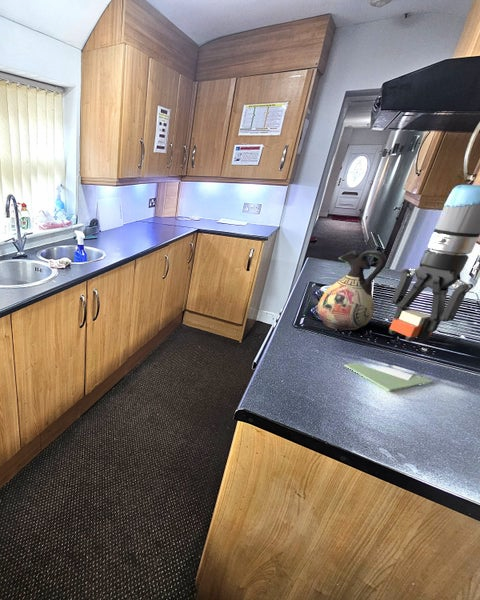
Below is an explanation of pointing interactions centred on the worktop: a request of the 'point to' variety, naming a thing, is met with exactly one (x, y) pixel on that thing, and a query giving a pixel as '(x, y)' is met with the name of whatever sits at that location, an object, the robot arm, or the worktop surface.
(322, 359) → the worktop surface
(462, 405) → the worktop surface
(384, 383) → the mat
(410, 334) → the toy car
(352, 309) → the ceramic jug
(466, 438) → the worktop surface
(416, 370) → the worktop surface
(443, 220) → the robot arm
